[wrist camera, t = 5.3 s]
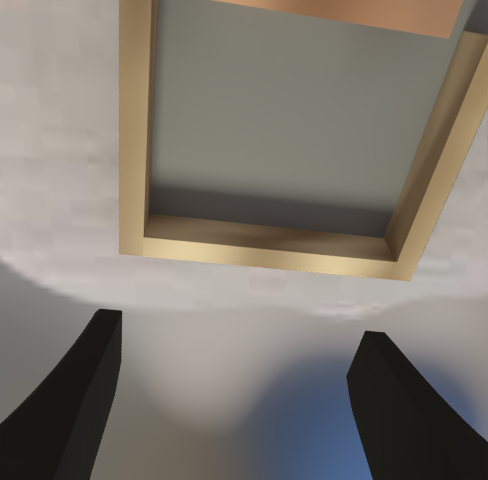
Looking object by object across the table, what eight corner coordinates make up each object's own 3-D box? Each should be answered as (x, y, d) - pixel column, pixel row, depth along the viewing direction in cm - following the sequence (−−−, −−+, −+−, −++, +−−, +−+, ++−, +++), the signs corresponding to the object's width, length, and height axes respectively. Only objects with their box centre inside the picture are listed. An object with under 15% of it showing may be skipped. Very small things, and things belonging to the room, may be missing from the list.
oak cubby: (486, 34, 17) (515, 44, 16) (396, 256, 23) (409, 281, 21) (130, -25, 16) (119, -21, 14) (127, 229, 21) (119, 254, 20)
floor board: (578, -122, 15) (591, -124, 15) (416, 252, 24) (420, 258, 23) (125, -220, 13) (121, -227, 13) (123, 222, 22) (120, 228, 21)
